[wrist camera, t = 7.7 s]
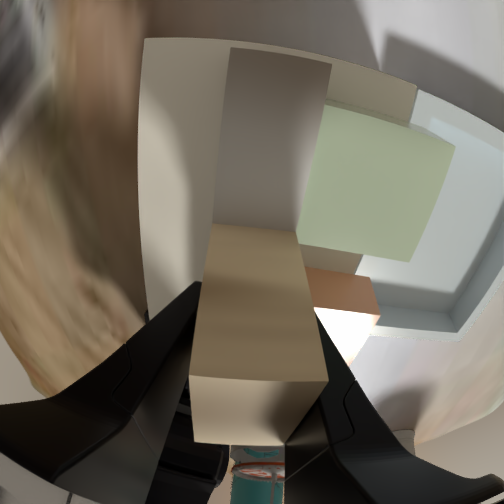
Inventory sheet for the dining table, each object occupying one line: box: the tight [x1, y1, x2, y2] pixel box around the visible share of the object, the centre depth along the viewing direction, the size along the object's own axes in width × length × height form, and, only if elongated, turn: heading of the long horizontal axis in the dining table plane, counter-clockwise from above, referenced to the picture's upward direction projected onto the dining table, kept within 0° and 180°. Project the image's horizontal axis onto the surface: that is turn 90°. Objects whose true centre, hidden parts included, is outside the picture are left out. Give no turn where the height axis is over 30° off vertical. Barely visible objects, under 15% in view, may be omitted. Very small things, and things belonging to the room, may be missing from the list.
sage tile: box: [296, 99, 456, 263], centre depth 10 cm, size 4×4×2 cm
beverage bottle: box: [230, 448, 283, 504], centre depth 27 cm, size 6×7×20 cm
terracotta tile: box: [304, 266, 381, 367], centre depth 14 cm, size 4×4×2 cm
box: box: [354, 89, 504, 342], centre depth 15 cm, size 15×12×2 cm
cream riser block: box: [138, 38, 417, 320], centre depth 15 cm, size 15×10×4 cm, turn 172°
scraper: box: [189, 47, 332, 446], centre depth 9 cm, size 14×2×8 cm, turn 172°
